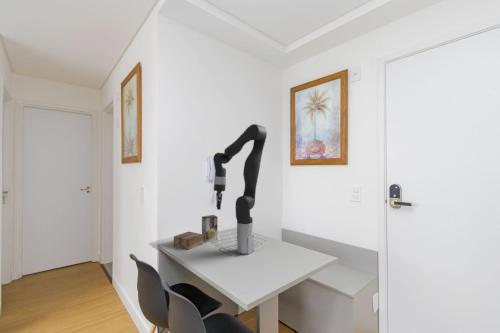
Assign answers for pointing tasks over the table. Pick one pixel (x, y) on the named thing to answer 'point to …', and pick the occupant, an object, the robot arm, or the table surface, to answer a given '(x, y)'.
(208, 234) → the coffee box
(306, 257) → the table surface
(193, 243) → the walnut crate
